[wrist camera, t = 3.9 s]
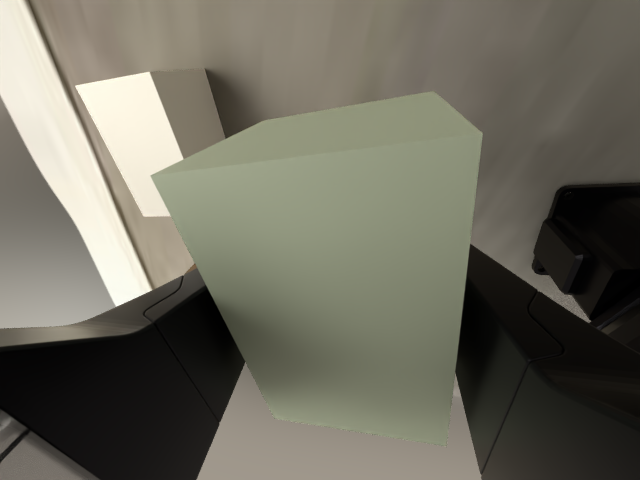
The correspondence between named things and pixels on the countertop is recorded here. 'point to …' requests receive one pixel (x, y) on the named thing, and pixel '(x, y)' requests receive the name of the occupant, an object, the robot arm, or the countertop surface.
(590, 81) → the countertop surface
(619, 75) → the countertop surface
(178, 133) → the off-white brick
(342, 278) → the sage brick
